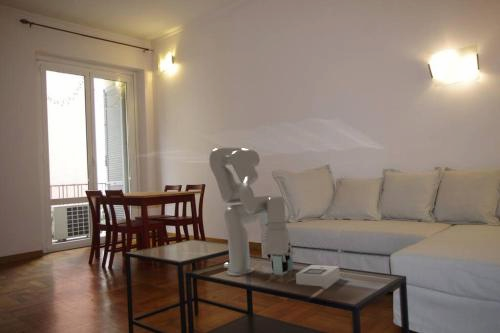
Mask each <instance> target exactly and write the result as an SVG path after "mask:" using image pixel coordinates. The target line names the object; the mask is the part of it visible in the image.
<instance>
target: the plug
mask: <svg viewBox="0 0 500 333" xmlns="http://www.w3.org/2000/svg"><path fill="white" fill-rule="evenodd" d="M282 262H283V258H282V255H274V256H273V269H272V271H273V270H274V271H273V273H274V275H282V276H283V275H285V274H287V271H285V272H283V267H282Z"/></svg>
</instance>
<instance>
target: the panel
mask: <svg viewBox="0 0 500 333" xmlns="http://www.w3.org/2000/svg"><path fill="white" fill-rule="evenodd" d="M295 278H296V279H295V281H296V282H295V285H304V286H313V287H320V288H319V289H320V290H327V289H328V288H330V287H331V286H333V285H334V284H335V283H337V281H339V280H340V279H341V274H340V266H336V265H322V264H321V265H319V264H311V265H308V266H307V267H305V268H303V269H302V270H300V271H298V272H296V273H295Z"/></svg>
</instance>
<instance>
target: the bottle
mask: <svg viewBox="0 0 500 333" xmlns="http://www.w3.org/2000/svg"><path fill="white" fill-rule="evenodd" d="M287 254H288V255H289V254H290V253H287ZM292 271H294V260H293V256H292V257H291V258H290V259H289V260H288V270H287V272H292Z"/></svg>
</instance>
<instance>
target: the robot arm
mask: <svg viewBox="0 0 500 333" xmlns="http://www.w3.org/2000/svg"><path fill="white" fill-rule="evenodd" d="M208 160H209V166H210V170H211V172H212V174H213V176H214V177H215V178H214V179H215V180H216V183H217V187H218V190H219V193H220V196H221V199H222V201H223V202H224V203H225V204H227V205H230V206H228V207H226V209H225V210H224V213H223V216H224V220H225V221H224V222H225V225H226V230H227V231H226V232H227V243H228V244H227V245H228V256H229V262H225V263H224V264H223V268H226V269H227V271H226V274H227V275H228V276H232V277H233V276H234V277H236V276H237V277H239V276H240V277H241V276H244V275H247V274H249V273H251V272H254V271H255V269H254V268H253V267H251V259H250V244H249V234H248V230H247V228H246V227H245V226H244V225H249V224H254V223H256V222H258V221H259V219H260V215H265V214H266V216H267V217H266V219H267V223H265V227H266V228H267V229H266V231H265V242H264V243H265V244H264V246H265V249H264V251H263V255H265V256H266V257H268V259H269V260H270V262H271V269H272V271H273V272H274V270H273V256H274V255H282V258H283V262H282V267H283V272H285V271H287V270H288V260H289V259H290V258H291V257H292V258H293V256H295V251H294V249H292V244H291V243H292V242H291V237H290V233H289V230H288V229H287V219H286V208H285V207H286V206H285V198H284V197H283V196H282V195H281V196H278V195H277V196H272V195H261V196H260V195H259V196H255V194H254V190H253V189H252V187H251V186H252V185H253V184H254V183H256V182H257V180H259V172H257V169H256V168H257V166H259V164H260V161H261V160H260V154H259V153H258V152H257V151H256V150H254V149H248V148H243V147H218V148H214V149H212V150H211V152H210V155H209V159H208ZM227 166H232V168H233V171H235V173H236V175H237V177H238V179H239V181H240V183H238V182H236V179H235V177H234V174H233V172H232V171H231V170H230V169H229V168H228V167H227ZM287 253H290V254H289V255H288V254H287Z"/></svg>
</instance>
